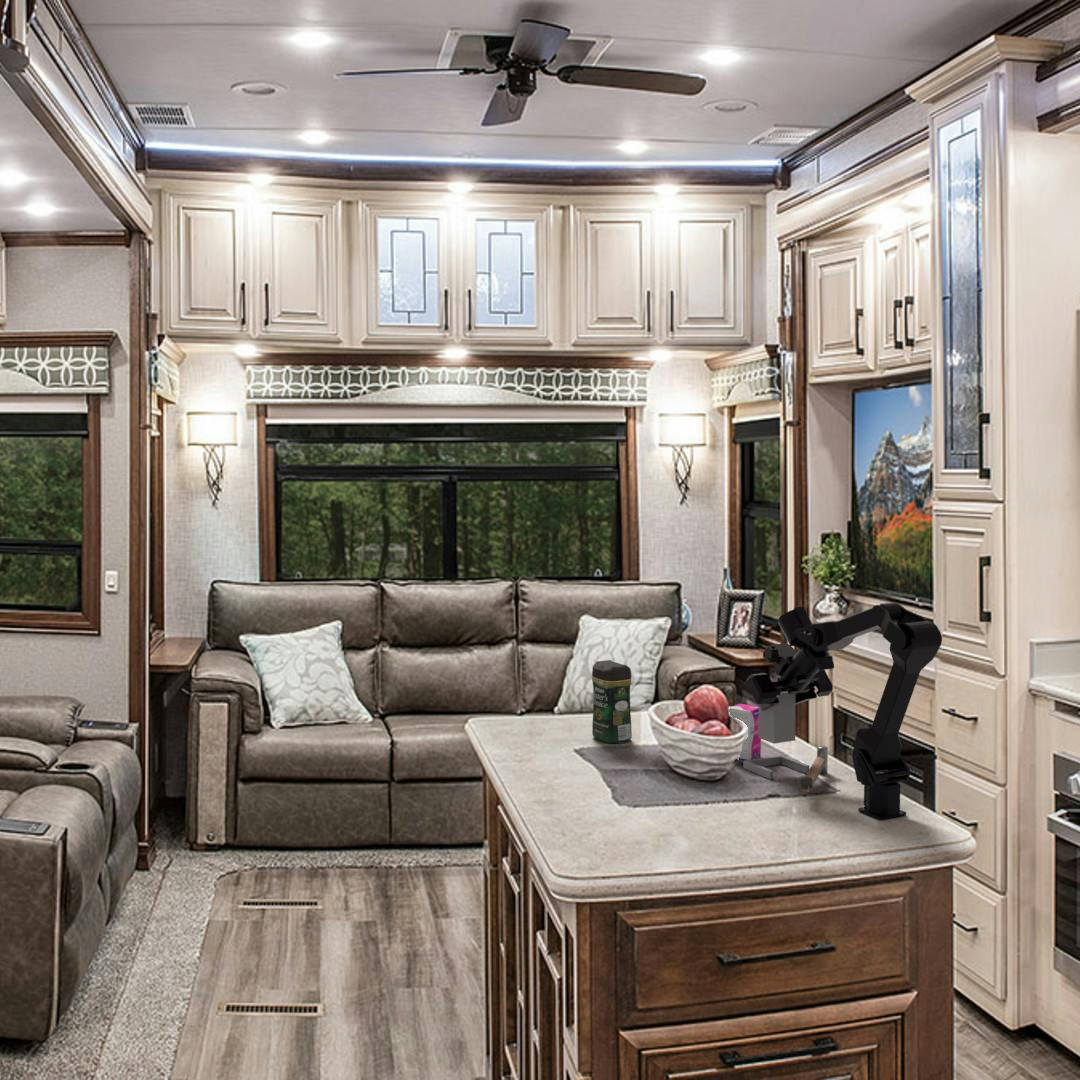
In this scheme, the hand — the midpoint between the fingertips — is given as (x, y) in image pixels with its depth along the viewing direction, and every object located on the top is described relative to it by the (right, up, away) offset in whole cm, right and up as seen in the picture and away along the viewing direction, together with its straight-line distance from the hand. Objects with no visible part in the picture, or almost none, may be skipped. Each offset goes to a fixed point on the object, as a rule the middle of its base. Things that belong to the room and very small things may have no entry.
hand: (773, 707), depth 263 cm
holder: (+1, -14, 0) cm, 14 cm away
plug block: (+1, -7, -1) cm, 7 cm away
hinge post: (+10, -14, -2) cm, 17 cm away
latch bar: (+5, -12, -14) cm, 19 cm away
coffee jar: (-33, -12, +28) cm, 45 cm away
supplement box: (-4, -13, +11) cm, 17 cm away
